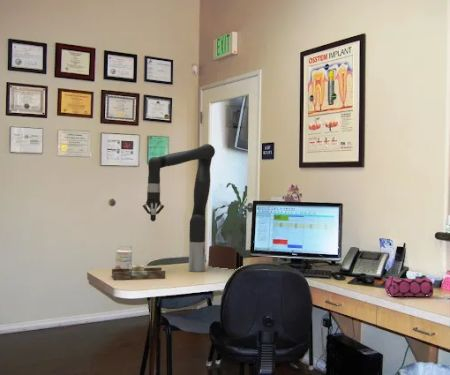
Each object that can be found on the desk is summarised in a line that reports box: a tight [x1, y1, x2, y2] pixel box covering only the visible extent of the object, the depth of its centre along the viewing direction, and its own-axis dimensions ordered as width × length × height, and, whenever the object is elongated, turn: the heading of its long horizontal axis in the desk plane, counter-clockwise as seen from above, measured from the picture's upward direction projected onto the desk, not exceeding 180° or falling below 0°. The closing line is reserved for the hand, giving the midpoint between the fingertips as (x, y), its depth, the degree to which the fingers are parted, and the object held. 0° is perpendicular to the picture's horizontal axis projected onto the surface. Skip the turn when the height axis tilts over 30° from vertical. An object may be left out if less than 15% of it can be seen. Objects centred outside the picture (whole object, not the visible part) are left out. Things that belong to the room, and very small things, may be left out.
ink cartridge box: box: [114, 244, 133, 269], centre depth 283 cm, size 9×5×15 cm, turn 84°
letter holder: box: [207, 245, 244, 271], centre depth 305 cm, size 10×20×14 cm, turn 59°
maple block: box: [132, 264, 145, 272], centre depth 266 cm, size 6×6×4 cm
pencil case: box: [384, 275, 434, 297], centre depth 235 cm, size 21×10×10 cm, turn 99°
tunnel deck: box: [111, 267, 166, 281], centre depth 265 cm, size 27×12×4 cm, turn 109°
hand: (152, 221), depth 286 cm, fingers closed
